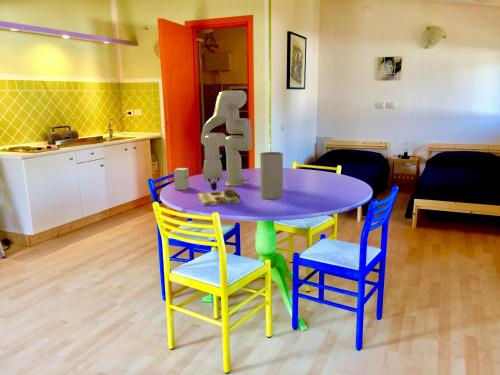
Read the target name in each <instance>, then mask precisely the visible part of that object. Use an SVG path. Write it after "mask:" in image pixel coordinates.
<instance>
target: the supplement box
mask: <svg viewBox="0 0 500 375" xmlns="http://www.w3.org/2000/svg"><path fill="white" fill-rule="evenodd" d="M189 175H190V174H189V167H177V168H175V169H174V170H173V179H174V180H173V182H174V183H173V184H174V190H178V191H179V190H181V191H186V190H187V189H189V188H190V176H189Z"/></svg>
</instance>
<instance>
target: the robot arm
mask: <svg viewBox="0 0 500 375" xmlns="http://www.w3.org/2000/svg"><path fill="white" fill-rule="evenodd" d="M247 97H248V96H247V93H246V91H244V90H223V91H220V92H219V93H218V94H217V97H216V101H215V106H214V111H213V115H212V117H210V118H209V119H208V120H207V121H206V123H205V124H204V125H203V127H202V132H201V136H200V143H201V144H202V146H204V152H205V153H204V154H205V159H204V160H203V180H204V181H205V182H209V183H210V188H211V190H212V192H213V191H214V192H215V191H217V189H218V184H217V183H218V182H219V181H220V180H223V179H224V176H223V175H224V173H223V172H224V171H223V165H222V161H221V159H220V158H222V157H223V154H220V147H224V148H225V155H226V158H225V159H226V160H225V161H226V181H225V182H224V186H228V187H239V186H243V185H245V182H248V181H250V178H249V177H243V176H242V156H241V154H240V152H243V151H244V152H247V151H250V150H251V149H252V146H253V144H252V142H253V140H252V139H253V135H252V123H251V120H250V119H249V118H245V117H243V118H242V117H241V118H240V110H239V109H241V108H242V107H243V106H244V105H245V104H246V103H247V100H248V98H247ZM223 124H225V126H226V127H225V128H226V132H227V133H228V134H234V135H226V134H225V133H223V132H211V131H212V130H213V129H214V128H216V127H218V126H220V125H223ZM235 134H241V135H235ZM239 151H240V152H239ZM213 180H214V181H213Z"/></svg>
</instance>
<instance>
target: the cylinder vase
mask: <svg viewBox="0 0 500 375" xmlns="http://www.w3.org/2000/svg"><path fill="white" fill-rule="evenodd" d="M259 156H260V157H259V159H260V160H259V161H260V162H259V164H260V165H259V166H260V168H259V170H260V172H259V173H260V197H261V198H262V199H264V200H272V201H273V200H274V201H275V200H279V199H282V198H283V196H284V189H283V187H284V186H283V185H284V180H283V179H284V173H283V172H284V169H283V168H284V153H283V152H280V151H279V152H278V151H265V152H261V153H259Z"/></svg>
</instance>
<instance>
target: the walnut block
mask: <svg viewBox="0 0 500 375" xmlns="http://www.w3.org/2000/svg"><path fill="white" fill-rule="evenodd" d="M231 188H232V187H229V188H223V191H224V196H225V197H230V196H233V190H232V189H233V188H232V189H231Z"/></svg>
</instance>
